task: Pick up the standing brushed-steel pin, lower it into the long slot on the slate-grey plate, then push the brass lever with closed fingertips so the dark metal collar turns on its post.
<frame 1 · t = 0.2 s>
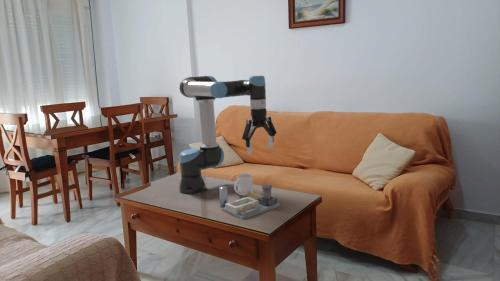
hand: (260, 151, 188), 27 cm above the table, fingers open, 13 cm apart
mug: (242, 194, 210), on the table
ring lever: (260, 197, 194), point 3 cm above the table, hinge at 0.0°
pin: (224, 206, 192), on the table
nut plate: (251, 208, 188), on the table
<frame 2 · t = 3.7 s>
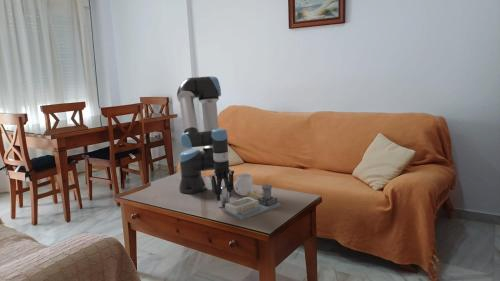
hand: (224, 205, 192), 1 cm above the table, fingers closed on pin, 4 cm apart
pin: (224, 206, 192), on the table, touching gripper
everything else where it was.
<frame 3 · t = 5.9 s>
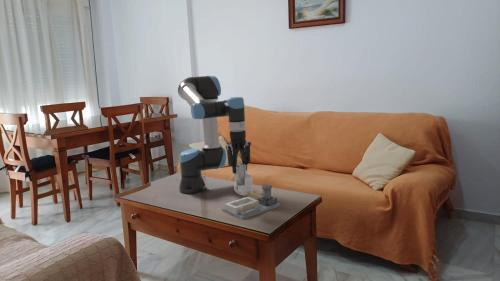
hand: (240, 178, 183), 16 cm above the table, fingers closed on pin, 4 cm apart
pin: (240, 184, 183), point 13 cm above the table, touching gripper
everything else where it was.
when the fingers open (4 cm above the table, at t = 8.2 s): pin stays where it is, resting on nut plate.
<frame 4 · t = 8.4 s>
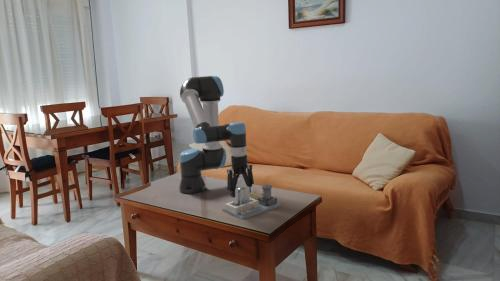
hand: (241, 201, 185), 5 cm above the table, fingers open, 7 cm apart
pin: (242, 208, 185), point 1 cm above the table, touching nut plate
everything else where it was.
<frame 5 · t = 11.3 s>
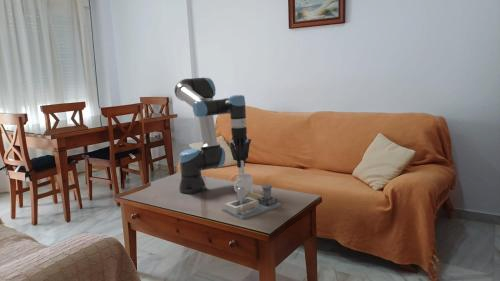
hand: (241, 173, 192), 16 cm above the table, fingers closed
nothing on the table moved.
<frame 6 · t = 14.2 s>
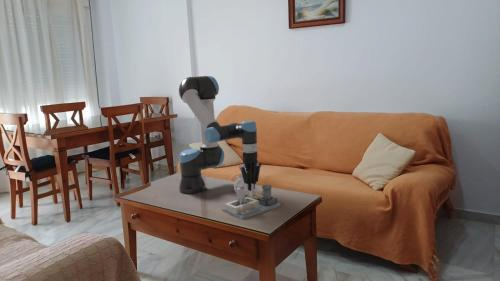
hand: (251, 195, 198), 3 cm above the table, fingers closed
ring lever: (260, 197, 195), point 3 cm above the table, hinge at 1.8°, touching gripper
everything else where it was.
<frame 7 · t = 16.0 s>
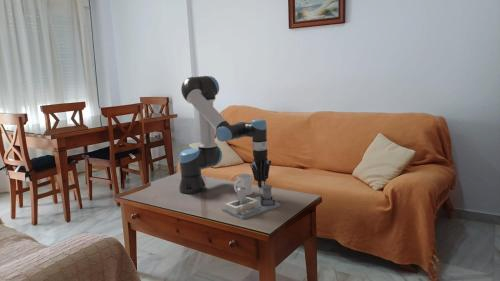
hand: (261, 192, 202), 3 cm above the table, fingers closed
ring lever: (266, 196, 196), point 3 cm above the table, hinge at 38.3°, touching gripper
everything else where it was.
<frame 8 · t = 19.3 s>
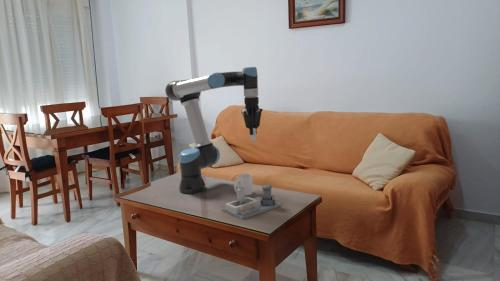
hand: (253, 140, 206), 29 cm above the table, fingers closed
ring lever: (267, 196, 196), point 3 cm above the table, hinge at 38.4°
everything else where it was.
at the end: pin inside the target area (0.0 cm from its centre), point 1.3 cm above the table; pin tilted 4°; ring lever at +38° (first picture: +0°) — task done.
